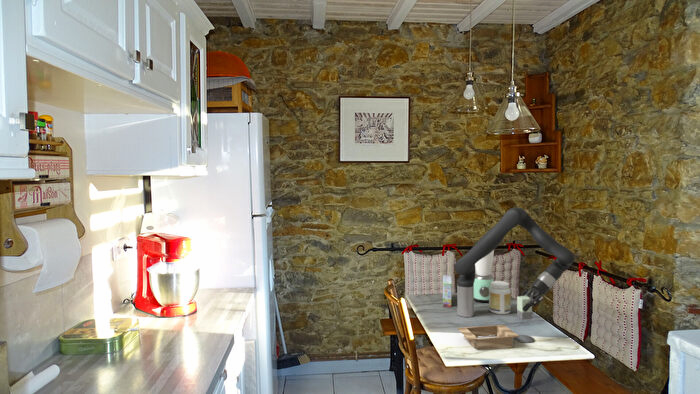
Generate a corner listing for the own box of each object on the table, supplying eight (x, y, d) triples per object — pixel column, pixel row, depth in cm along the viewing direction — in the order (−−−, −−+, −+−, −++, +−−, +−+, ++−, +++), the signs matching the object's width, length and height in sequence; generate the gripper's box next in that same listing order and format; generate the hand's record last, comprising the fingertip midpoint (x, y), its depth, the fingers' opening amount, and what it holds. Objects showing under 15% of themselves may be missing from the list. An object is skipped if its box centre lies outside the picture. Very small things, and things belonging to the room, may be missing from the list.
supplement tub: (507, 308, 262) (507, 280, 261) (513, 314, 250) (513, 285, 249) (486, 308, 264) (486, 280, 263) (491, 314, 252) (491, 285, 251)
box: (517, 316, 216) (517, 296, 215) (526, 315, 217) (526, 295, 216) (522, 319, 211) (522, 299, 210) (532, 319, 212) (532, 298, 211)
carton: (457, 337, 218) (457, 327, 218) (503, 334, 221) (503, 324, 221) (469, 350, 203) (469, 339, 203) (519, 346, 206) (519, 336, 206)
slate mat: (511, 336, 218) (511, 335, 218) (527, 335, 219) (527, 334, 219) (520, 343, 209) (520, 342, 209) (537, 342, 211) (537, 341, 211)
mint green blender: (496, 304, 270) (496, 248, 268) (474, 304, 272) (474, 248, 270) (491, 295, 289) (491, 243, 286) (470, 295, 291) (470, 243, 288)
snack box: (452, 307, 266) (452, 283, 265) (442, 307, 267) (442, 283, 266) (451, 297, 287) (451, 275, 286) (442, 297, 288) (442, 274, 287)
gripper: (530, 274, 221) (508, 299, 220) (547, 281, 207) (523, 308, 206) (540, 284, 222) (518, 309, 221) (557, 292, 207) (533, 318, 207)
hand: (521, 308), depth 213 cm, fingers closed on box, 5 cm apart
